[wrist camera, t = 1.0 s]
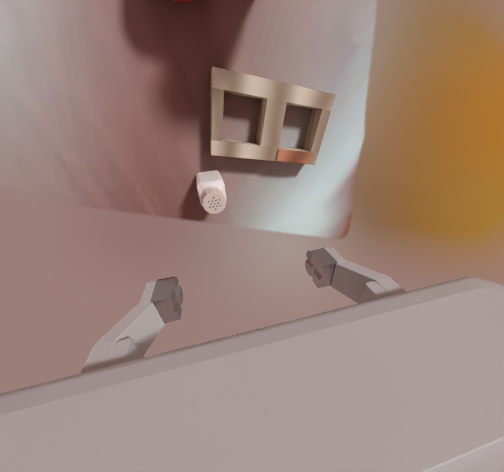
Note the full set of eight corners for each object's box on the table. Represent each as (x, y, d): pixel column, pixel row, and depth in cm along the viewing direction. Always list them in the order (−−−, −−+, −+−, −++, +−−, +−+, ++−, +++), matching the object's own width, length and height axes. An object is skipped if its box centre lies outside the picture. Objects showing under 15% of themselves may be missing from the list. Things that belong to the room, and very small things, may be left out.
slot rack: (209, 151, 30) (211, 155, 27) (210, 70, 25) (212, 65, 22) (306, 161, 35) (315, 165, 32) (324, 96, 30) (337, 94, 27)
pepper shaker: (195, 172, 31) (196, 191, 23) (218, 169, 32) (227, 187, 24) (200, 194, 33) (202, 219, 26) (222, 191, 34) (230, 214, 26)
